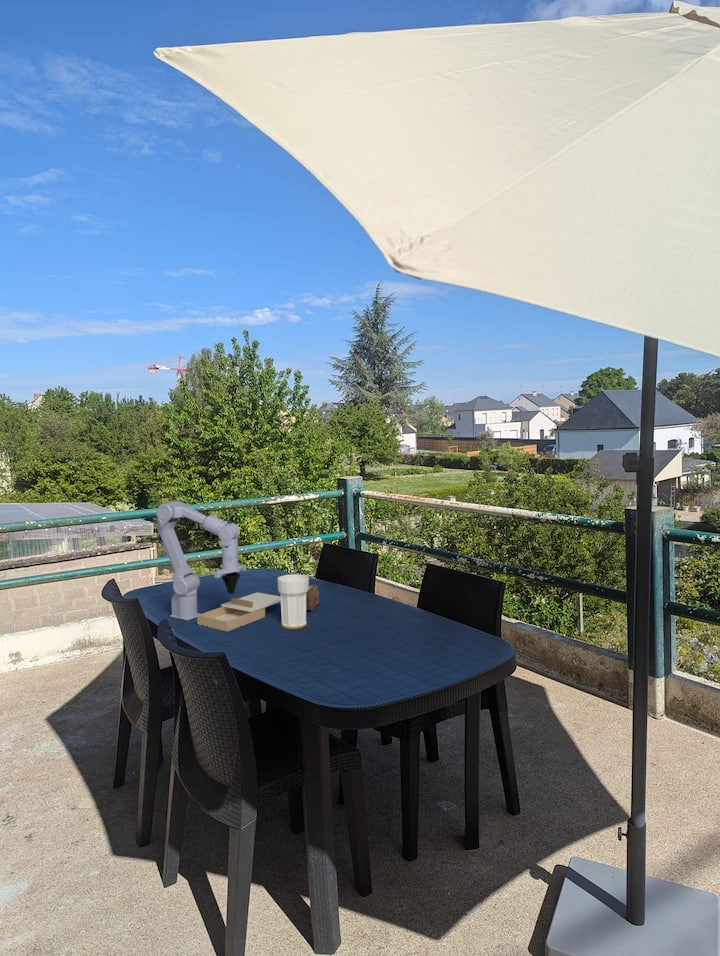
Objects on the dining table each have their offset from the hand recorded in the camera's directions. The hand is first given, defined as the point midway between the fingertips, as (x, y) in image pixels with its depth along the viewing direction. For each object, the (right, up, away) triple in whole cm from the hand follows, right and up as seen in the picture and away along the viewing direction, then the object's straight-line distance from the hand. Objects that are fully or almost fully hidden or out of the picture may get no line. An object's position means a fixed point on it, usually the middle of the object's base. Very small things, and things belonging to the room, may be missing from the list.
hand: (231, 593), depth 243 cm
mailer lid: (+7, -6, +11) cm, 14 cm away
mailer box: (0, -10, +1) cm, 10 cm away
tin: (+28, -9, +17) cm, 34 cm away
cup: (+24, -11, -5) cm, 27 cm away
